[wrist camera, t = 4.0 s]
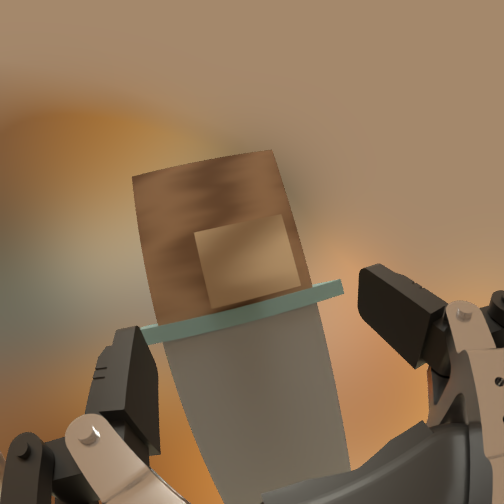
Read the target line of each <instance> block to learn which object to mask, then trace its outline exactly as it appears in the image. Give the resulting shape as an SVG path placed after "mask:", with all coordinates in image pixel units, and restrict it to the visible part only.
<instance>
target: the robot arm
mask: <svg viewBox="0 0 504 504" xmlns="http://www.w3.org/2000/svg"><path fill="white" fill-rule="evenodd" d="M358 310H359V313H360V316H361V317H362V319H363V320H364V321H365V322H366V323H367V324H368V325H370V326H371V327H372V328H373V329H374V330H375V331H376V332H377V333H378V334H379V335H380V336H381V337H382V338H383V339H384V340H385V341H386V342H387V343H388V344H389V345H390V346H391V347H392V348H394V349H395V350H396V351H397V352H398V353H399V354H400V355H401V356H402V357H403V358H404V359H405V360H406V361H407V362H408V363H409V364H410V365H411V366H412V367H413V368H414V369H417V368H418V367H420V366H421V365H423V364H424V363H427V364H428V365H429V366H428V369H427V381H428V398H429V415H428V420H427V423H426V424H425V423H424V422H423V421H420V422H419V423H418V424H416V425H414V426H413V427H411V428H410V429H408V430H407V431H405V432H404V433H402V434H400V435H399V436H397V437H395V438H394V439H392V440H390V441H389V442H388V443H387V444H386V445H385V446H384V447H383V448H382V449H381V450H379V452H377V453H376V454H375V455H374V456H373V457H371V458H370V459H369V460H368V461H367V462H366V463H364V464H363V465H362V466H361V467H360V468H358V469H356V470H353V471H349V472H345V473H340V474H336V475H330V476H325V477H319V478H313V479H307V480H304V481H301V482H298V483H295V484H292V485H289V486H286V487H283V488H279V489H276V490H272V491H269V492H265V493H261V496H262V499H263V501H264V502H262V503H260V504H504V291H502V290H500V291H496V292H494V293H493V294H492V297H491V301H490V304H489V306H486V307H483V308H478V307H477V306H476V305H474V304H472V303H470V302H467V301H454V302H451V303H450V304H448V303H446V302H445V301H443V300H442V299H440V298H439V297H437V296H436V295H434V294H433V293H431V292H430V291H428V290H426V289H425V288H422V286H420V285H419V284H417V283H414V281H412V280H410V279H409V278H408V277H406V276H404V275H401V274H397V273H395V272H393V271H391V270H390V269H388V268H386V267H385V266H383V265H381V264H375V265H372V266H369V267H366V268H363V269H361V270H360V273H359V288H358ZM95 369H96V371H95V372H94V375H93V381H92V384H91V388H90V392H89V396H88V401H87V405H86V410H85V415H82V416H80V417H78V418H77V419H75V420H74V421H73V422H72V423H71V424H70V425H69V427H68V429H67V431H66V434H65V437H62V438H59V439H56V440H52V441H49V442H45V443H44V442H43V441H42V440H41V439H40V438H39V437H38V436H37V435H35V434H34V433H29V432H25V433H22V434H20V435H18V436H17V437H16V438H15V439H14V440H13V441H12V443H11V444H10V447H9V450H8V454H7V459H6V461H5V459H4V457H3V455H2V453H1V452H0V504H51V495H52V496H54V497H55V504H99V502H98V500H101V501H102V504H191V503H189V502H188V501H187V500H186V499H185V498H183V497H182V496H181V495H180V494H179V493H177V492H176V491H175V490H174V489H173V488H172V487H171V486H169V485H168V484H167V483H166V482H165V481H164V480H163V479H162V478H161V477H160V476H159V475H158V474H157V473H156V472H155V471H154V470H153V469H151V467H150V466H149V456H152V455H160V454H161V452H160V437H159V408H158V371H157V367H156V363H155V361H154V359H153V356H152V354H151V352H150V350H149V347H148V345H147V343H146V341H145V338H144V336H143V334H142V332H141V330H140V328H139V327H138V326H134V327H128V328H123V329H118V330H116V333H115V337H114V341H113V344H112V346H107V347H106V348H105V349H104V350H103V352H102V353H101V354H100V356H99V357H98V360H97V364H96V368H95Z"/></svg>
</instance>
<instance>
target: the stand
mask: <svg viewBox="0 0 504 504" xmlns="http://www.w3.org/2000/svg"><path fill="white" fill-rule="evenodd" d="M312 286H313V287H312V288H309V289H305V290H302V291H298V292H295V293H291V294H287V295H284V296H280V297H277V298H273V299H269V300H265V301H262V302H258V303H254V304H250V305H246V306H242V307H238V308H235V309H231V310H226V311H222V312H218V313H214V314H210V315H206V316H201V317H197V318H193V319H188V320H184V321H179V322H175V323H170V324H166V325H161V326H158V324H153V325H149V326H145V327H142V328H140V330H141V332H142V334H143V336H144V338H145V341H146V343H147V345H150V344H156V343H161V342H163V345H164V349H165V352H166V356H167V359H168V363H169V366H170V369H171V372H172V376H173V379H174V382H175V385H176V388H177V391H178V394H179V397H180V400H181V403H182V406H183V409H184V411H185V414H186V417H187V420H188V422H189V425H190V427H191V430H192V433H193V435H194V438H195V440H196V443H197V445H198V447H199V450H200V452H201V455H202V457H203V459H204V462H205V464H206V466H207V468H208V471H209V473H210V474H211V477H212V479H213V481H214V484H215V485H216V488H217V489H218V492H219V494H220V496H221V498H222V500H223V502H224V504H260V503H262V502H264V501H263V499H262V496H261V493H265V492H269V491H272V490H276V489H279V488H283V487H286V486H289V485H292V484H295V483H298V482H301V481H304V480H307V479H313V478H319V477H325V476H330V475H336V474H340V473H345V472H349V471H351V470H350V462H349V456H348V449H347V444H346V438H345V432H344V427H343V421H342V416H341V410H340V406H339V400H338V395H337V390H336V385H335V380H334V375H333V371H332V367H331V361H330V357H329V353H328V348H327V344H326V339H325V335H324V331H323V326H322V322H321V318H320V315H319V310H318V306H317V302H319V301H323V300H326V299H329V298H332V297H335V296H338V295H341V294H344V291H343V287H342V283H341V280H340V279H338V280H334V281H329V282H324V283H319V284H314V285H312Z"/></svg>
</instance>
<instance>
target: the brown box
mask: <svg viewBox="0 0 504 504" xmlns="http://www.w3.org/2000/svg"><path fill="white" fill-rule="evenodd" d="M132 181H133V191H134V199H135V207H136V215H137V222H138V229H139V235H140V241H141V247H142V253H143V258H144V264H145V269H146V274H147V279H148V284H149V289H150V293H151V298H152V302H153V306H154V311H155V314H156V319H157V323H158V326H161V325H166V324H170V323H175V322H179V321H184V320H188V319H193V318H197V317H201V316H206V315H210V314H214V313H218V312H222V311H226V310H231V309H235V308H238V307H242V306H246V305H250V304H254V303H258V302H262V301H265V300H269V299H273V298H277V297H280V296H284V295H287V294H291V293H295V292H298V291H302V290H305V289H309V288H312V287H313V286H312V283H311V279H310V275H309V271H308V267H307V264H306V260H305V256H304V253H303V249H302V246H301V242H300V239H299V235H298V232H297V228H296V225H295V221H294V218H293V215H292V211H291V208H290V205H289V201H288V198H287V195H286V192H285V188H284V185H283V182H282V179H281V176H280V173H279V170H278V167H277V163H276V161H275V157H274V154H273V151H272V150H266V151H258V152H251V153H245V154H238V155H232V156H226V157H220V158H215V159H209V160H204V161H199V162H194V163H189V164H184V165H180V166H175V167H170V168H166V169H161V170H157V171H153V172H149V173H145V174H141V175H137V176H133V177H132Z"/></svg>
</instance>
